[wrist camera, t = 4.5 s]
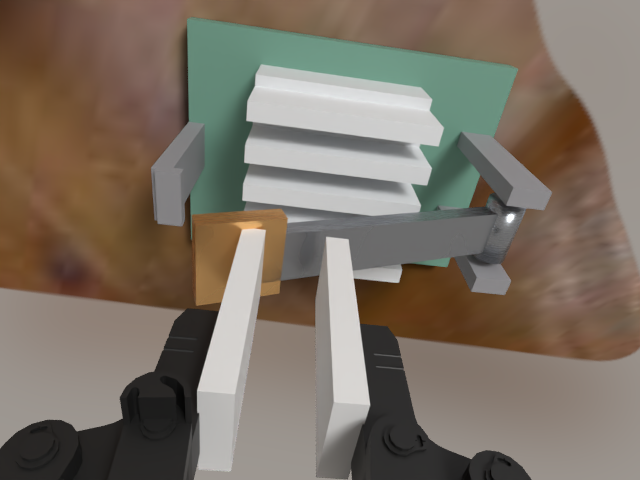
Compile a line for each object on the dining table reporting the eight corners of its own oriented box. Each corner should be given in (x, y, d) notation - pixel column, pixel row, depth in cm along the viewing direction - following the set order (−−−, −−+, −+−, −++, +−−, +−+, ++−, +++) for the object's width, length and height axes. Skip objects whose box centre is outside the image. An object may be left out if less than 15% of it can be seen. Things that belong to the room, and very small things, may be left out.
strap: (191, 285, 16) (198, 314, 15) (189, 208, 14) (197, 233, 13) (486, 246, 21) (509, 265, 20) (510, 188, 20) (537, 204, 19)
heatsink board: (194, 230, 27) (155, 317, 20) (192, 17, 21) (134, 39, 14) (443, 258, 28) (484, 348, 22) (510, 65, 22) (597, 106, 15)
